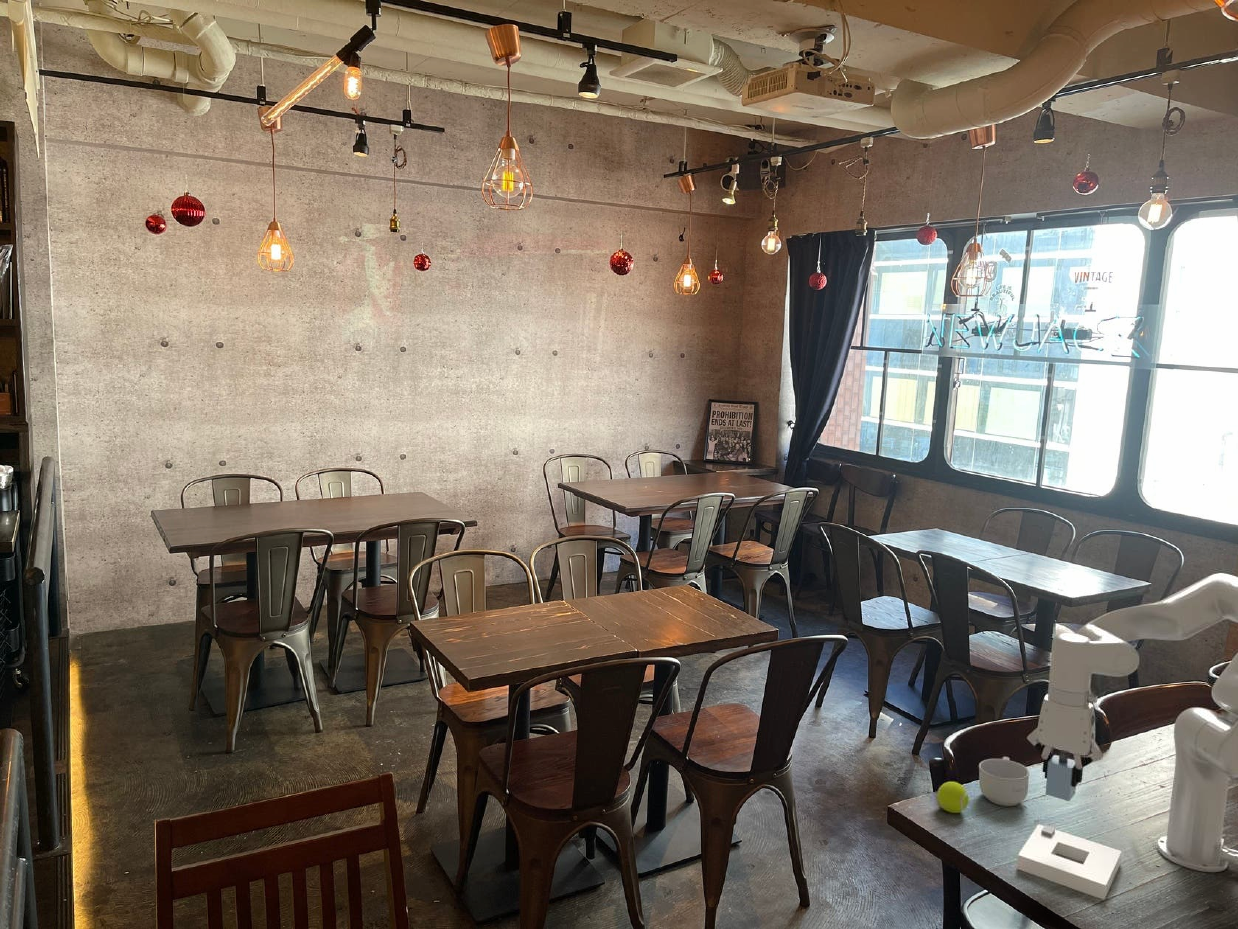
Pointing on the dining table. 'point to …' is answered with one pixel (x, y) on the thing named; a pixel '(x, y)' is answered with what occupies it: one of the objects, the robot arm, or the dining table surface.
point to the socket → (1070, 861)
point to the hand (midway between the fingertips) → (1061, 779)
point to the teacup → (1003, 781)
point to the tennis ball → (952, 797)
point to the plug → (1060, 777)
